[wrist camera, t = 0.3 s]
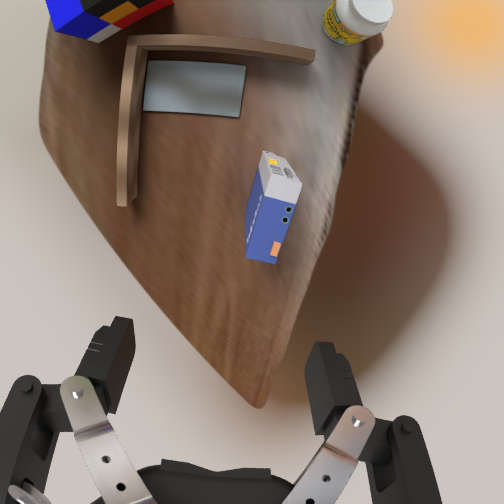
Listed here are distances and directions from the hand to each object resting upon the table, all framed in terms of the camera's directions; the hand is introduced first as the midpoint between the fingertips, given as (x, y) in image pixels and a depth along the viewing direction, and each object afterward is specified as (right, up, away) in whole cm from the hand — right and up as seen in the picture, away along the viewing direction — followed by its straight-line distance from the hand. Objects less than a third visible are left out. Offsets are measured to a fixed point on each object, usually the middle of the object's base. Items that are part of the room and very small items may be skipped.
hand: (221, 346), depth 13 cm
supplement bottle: (+12, +30, +14) cm, 35 cm away
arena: (-3, +18, +20) cm, 27 cm away
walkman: (+3, +12, +23) cm, 26 cm away
